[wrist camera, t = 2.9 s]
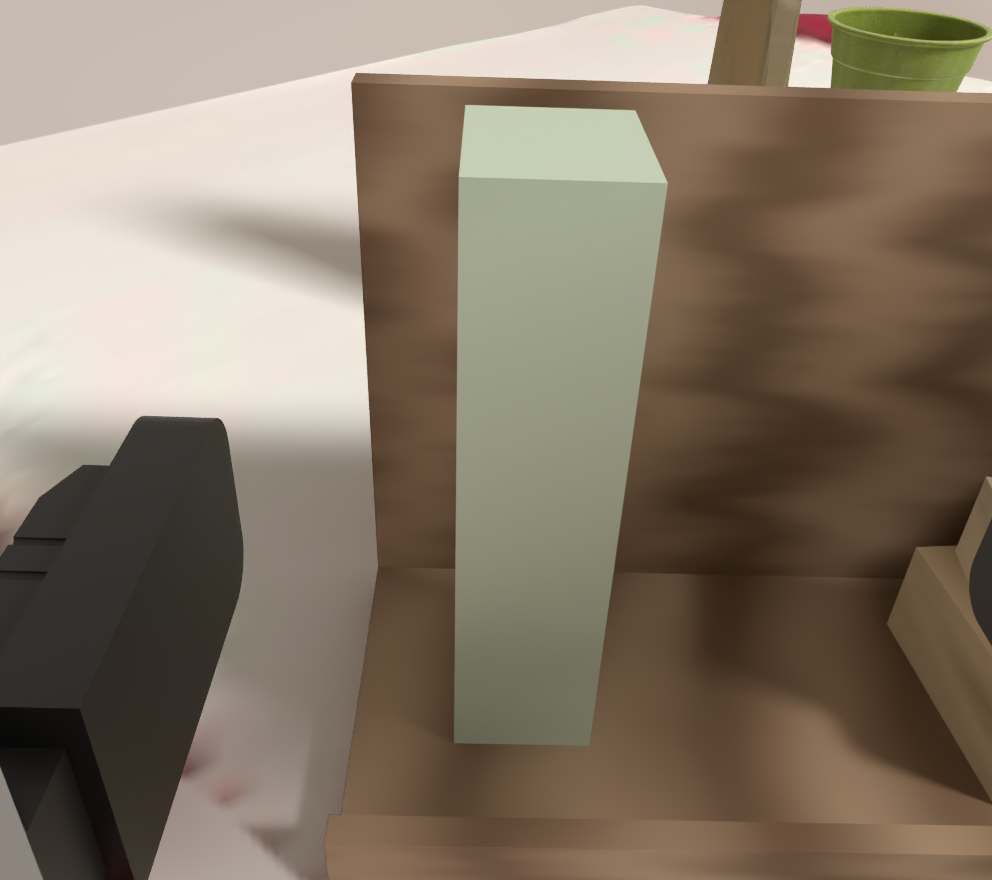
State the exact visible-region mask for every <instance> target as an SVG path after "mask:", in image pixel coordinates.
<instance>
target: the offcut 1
mask: <svg viewBox="0 0 992 880" xmlns="http://www.w3.org/2000/svg"><path fill="white" fill-rule="evenodd" d="M956 548H957V546H931V547H916V549H915V552H914V554H913V557H912V559H911V562H910V565H909V567H908V570H907V572H906V575H905V578H904V580H903V583H902V586H901V588H900V591H899V593H898V596H897V599H896V601H895V604H894V606H893V609H892V612H891V614H890V617H889V619H888V622H887V625H888V627H889V628H890V630H891V632H892V633H893V635H894V637H895V639H896V640H897V642H898V644H899V645H900V647H901V649H902V650H903V652H904V654H905V655H906V657H907V659H908V661H909V662H910V664H911V666H912V667H913V669H914V671H915V672H916V674H917V676H918V677H919V679H920V681H921V683H922V684H923V686H924V688H925V689H926V691H927V693H928V694H929V696H930V698H931V699H932V701H933V703H934V705H935V706H936V708H937V710H938V711H939V713H940V715H941V716H942V718H943V720H944V722H945V723H946V725H947V727H948V728H949V730H950V732H951V733H952V735H953V737H954V738H955V740H956V742H957V744H958V745H959V747H960V749H961V750H962V752H963V754H964V755H965V757H966V759H967V760H968V762H969V764H970V766H971V767H972V769H973V771H974V772H975V774H976V776H977V777H978V779H979V781H980V782H981V784H982V786H983V788H984V789H985V791H986V793H987V794H988V796H989V798H990V799H991V801H992V646H991V644H990V643H989V641H988V639H987V638H986V636H985V634H984V632H983V631H982V629H981V627H980V626H979V624H978V622H977V620H976V618H975V615H974V613H973V609H972V606H971V601H970V593H969V584H968V582H967V579H966V577H965V575H964V572H963V570H962V567H961V565H960V562H959V560H958V557H957V555H956V552H955V550H956Z"/></svg>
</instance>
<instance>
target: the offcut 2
mask: <svg viewBox="0 0 992 880" xmlns="http://www.w3.org/2000/svg"><path fill="white" fill-rule="evenodd" d="M991 519H992V477H986V478H985V480H984V483H983V485H982V488H981V490H980V492H979V495H978V497H977V500H976V502H975V504H974V507H973V509H972V512H971V514H970V516H969V519H968V521H967V524H966V526H965V528H964V531H963V533H962V536H961V538H960V540H959V543H958V545H957V548H956V550H955V552H956V555H957V557H958V560H959V562H960V565H961V567H962V570H963V572H964V575H965V577H966V579H967V582H968V584H969V578H970V571H971V566H972V563H973V560H974V557H975V555H976V553H977V551H978V548H979V546H980V544H981V541H982V539H983V537H984V535H985V532H986V530H987V528H988V525H989V523H990V521H991Z"/></svg>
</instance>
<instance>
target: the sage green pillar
mask: <svg viewBox="0 0 992 880" xmlns="http://www.w3.org/2000/svg"><path fill="white" fill-rule="evenodd" d="M667 186H668V182H667V180H666V178H665V176H664V173H663V171H662V169H661V167H660V164H659V162H658V160H657V158H656V155H655V153H654V151H653V149H652V147H651V144H650V142H649V140H648V138H647V135H646V133H645V131H644V129H643V126H642V124H641V122H640V120H639V117H638V115H637V113H636V111H635V110H609V109H578V108H546V107H515V106H483V105H465V115H464V126H463V136H462V147H461V158H460V168H459V200H458V320H457V439H456V558H455V678H454V743H469V744H523V745H576V746H589V744H590V737H591V730H592V722H593V715H594V708H595V701H596V694H597V687H598V680H599V672H600V665H601V658H602V651H603V644H604V637H605V629H606V622H607V615H608V608H609V601H610V594H611V587H612V579H613V572H614V565H615V558H616V551H617V544H618V537H619V529H620V522H621V515H622V508H623V501H624V494H625V486H626V479H627V472H628V465H629V458H630V451H631V444H632V436H633V429H634V422H635V415H636V408H637V401H638V393H639V386H640V379H641V372H642V365H643V358H644V351H645V343H646V336H647V329H648V322H649V315H650V308H651V300H652V293H653V286H654V279H655V272H656V265H657V258H658V250H659V243H660V236H661V229H662V222H663V215H664V208H665V200H666V193H667Z"/></svg>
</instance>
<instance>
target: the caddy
mask: <svg viewBox="0 0 992 880" xmlns="http://www.w3.org/2000/svg"><path fill="white" fill-rule="evenodd" d="M801 1H802V0H724V2H723V7H722V12H721V17H720V22H719V27H718V32H717V37H716V43H715V48H714V53H713V59H712V64H711V69H710V75H709V80H708V84H711V85H742V86H773V87H788V81H789V74H790V68H791V62H792V56H793V50H794V44H795V37H796V31H797V25H798V19H799V13H800V7H801Z"/></svg>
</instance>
